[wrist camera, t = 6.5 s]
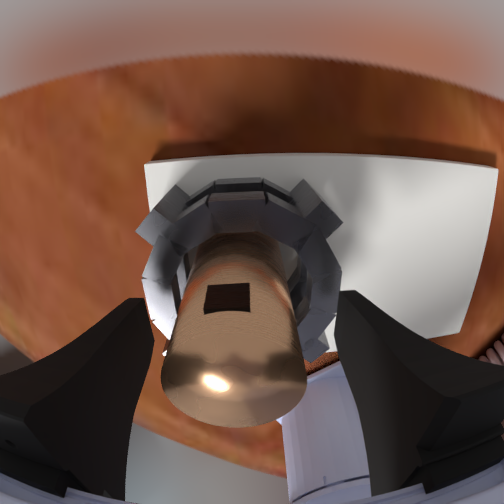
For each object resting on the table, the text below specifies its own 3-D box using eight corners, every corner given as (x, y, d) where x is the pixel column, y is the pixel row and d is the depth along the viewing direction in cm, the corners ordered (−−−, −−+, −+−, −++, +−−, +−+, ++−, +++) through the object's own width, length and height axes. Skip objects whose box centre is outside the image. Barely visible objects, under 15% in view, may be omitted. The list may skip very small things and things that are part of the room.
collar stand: (323, 175, 15) (347, 197, 11) (315, 315, 18) (330, 362, 14) (156, 183, 15) (128, 207, 11) (177, 320, 18) (164, 368, 14)
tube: (279, 281, 17) (303, 422, 9) (205, 286, 17) (178, 427, 9) (277, 207, 15) (310, 323, 7) (194, 213, 15) (142, 332, 7)
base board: (488, 165, 15) (498, 169, 14) (453, 324, 20) (459, 332, 19) (150, 161, 15) (144, 164, 14) (180, 347, 20) (177, 357, 19)
